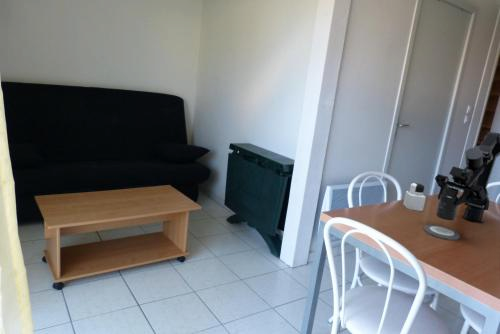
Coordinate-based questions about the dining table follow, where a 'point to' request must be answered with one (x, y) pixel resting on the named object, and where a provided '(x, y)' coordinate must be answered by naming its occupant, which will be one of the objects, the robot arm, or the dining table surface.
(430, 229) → the trivet
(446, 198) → the supplement bottle
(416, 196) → the medicine bottle
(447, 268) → the dining table surface
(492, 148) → the robot arm
